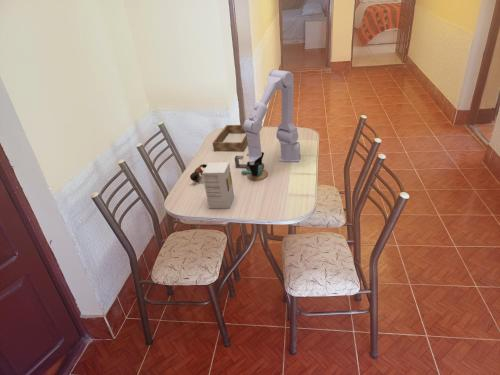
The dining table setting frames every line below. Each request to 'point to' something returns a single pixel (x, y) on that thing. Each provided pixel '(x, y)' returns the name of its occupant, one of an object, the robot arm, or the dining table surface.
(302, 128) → the dining table surface
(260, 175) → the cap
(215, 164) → the supplement box
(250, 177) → the coaster
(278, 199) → the dining table surface
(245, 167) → the dark grey handled bowl
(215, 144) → the tray
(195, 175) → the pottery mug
